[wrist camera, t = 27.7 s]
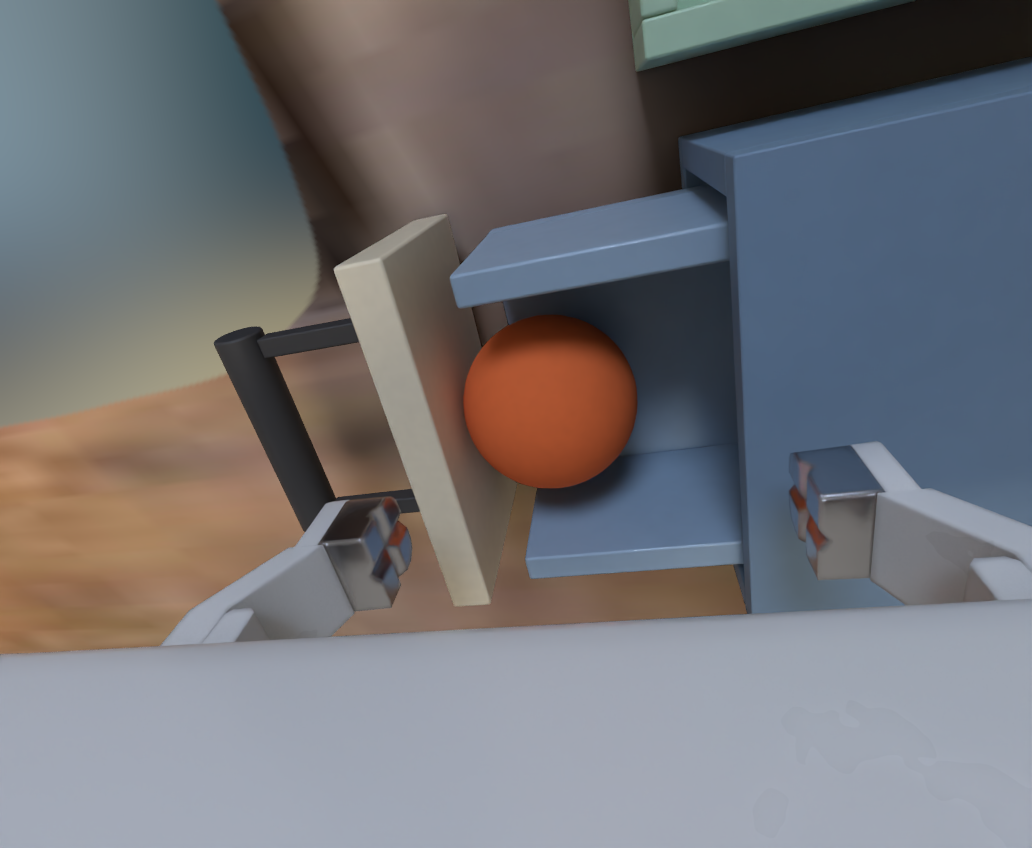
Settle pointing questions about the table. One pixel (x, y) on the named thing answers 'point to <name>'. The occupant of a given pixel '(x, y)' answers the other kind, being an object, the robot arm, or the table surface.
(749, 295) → the cabinet
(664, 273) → the drawer
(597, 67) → the table surface
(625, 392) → the ball
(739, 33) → the tote
